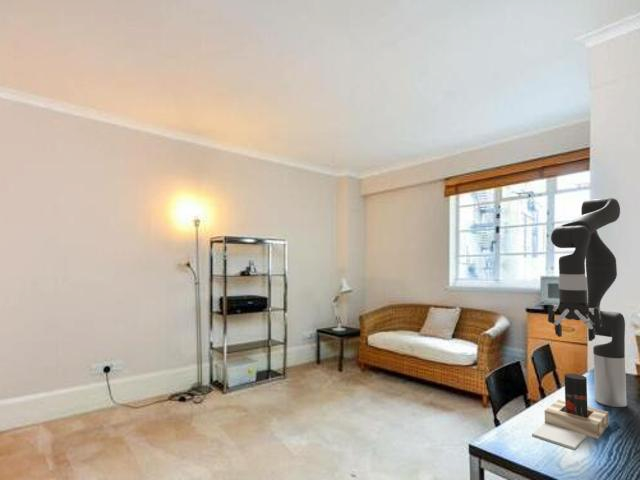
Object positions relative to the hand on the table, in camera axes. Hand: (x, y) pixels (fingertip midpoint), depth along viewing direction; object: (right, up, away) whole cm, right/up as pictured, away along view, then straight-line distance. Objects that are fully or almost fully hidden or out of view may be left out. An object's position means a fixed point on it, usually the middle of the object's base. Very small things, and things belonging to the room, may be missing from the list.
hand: (574, 338), depth 121 cm
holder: (0, -27, 0) cm, 27 cm away
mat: (-11, -27, -9) cm, 30 cm away
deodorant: (0, -28, 0) cm, 28 cm away
